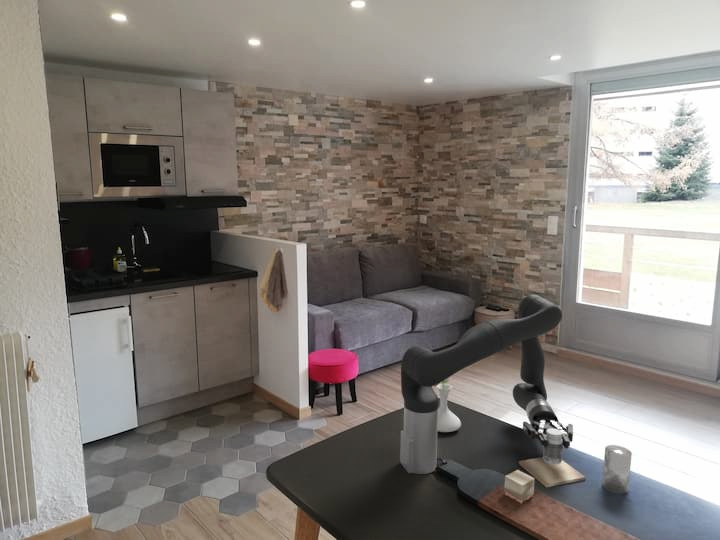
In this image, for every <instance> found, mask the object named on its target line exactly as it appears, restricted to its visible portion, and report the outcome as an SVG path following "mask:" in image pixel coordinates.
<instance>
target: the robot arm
mask: <svg viewBox="0 0 720 540" xmlns="http://www.w3.org/2000/svg"><path fill="white" fill-rule="evenodd" d="M517 312H518V315H517V317H518V318H511V319H510V318H509V319H506V318H500V319H489V320H486V321H483V322H481V323H479V324H476V325H474V326H472V327H470V328H469V329H468V330H466V331H465V332H464V333H463V335H462V336H461V337H460V339H459V341H458V342H457V343H455V344H454V345H452V346H450V347H448V348H446V349H443V350H439V351H435V352H434V351H432V350H431V349H428V348H426V347H423V346H421V345H413V346H411V347H409V348H408V349H407V350H406V351H405V353H403V356H402V359H401V362H400V364H401V365H400V387H401V388H400V390H401V395H402V398H403V430H400V446H399V448H400V449H399V450H400V451H399V453H400V454H399V463H400V464H401V466H402V467H403V469H404V470H405V471H406V472H407V474H417V475H427V474H430V473H432V472H434V471H436V469H437V461H438V460H437V459H438V458H437V455H438V453H437V452H438V432H439V431H438V409H439V397H438V395H437V393H436V392H435V390H434V388H433V387H436V386H435V385H437V384H442V381H444V380H446V379H447V378H450V377H452V376H454V375H455V374H456V373H458V372H460V371H462V370H464V369H465V368H467V367H470V366H472V365H474V364H475V363H477V362H480V361H482V360H485V359H486V358H488V357H489V358H490V357H491V356H494V355H496V354H498V353H500V352H502V351H503V350H505V349H508V348H510V347H512V346H514V345H516V344H519V343H520V345H521V363H520V372H519V375H520V379H521V380H522V382H519V383H516V384H515V385H514V386H513V388H512V397H513V401H514V402H515V403H516V404H517V406H519V407H520V408H521V409H522V410H524V411H525V412H526V416H527V419H528V421H529V422H527V421H522V431H523V432H524V433H525V434H526V435H527V437H528V438H530V440H535V439H536V440H537V441H538V442H539V443H540V445H541V446H543V448H544V447H547V443H548V441H547V438H546V431H547V429H550V428H554V429H558V430H560V431H561V432H562V439H563V448H564V449H569V447H571V442H573V436H574V428H573V427H574V426H573V424H572V423H568V424H567V425H563V423H561V422H560V421H559V418H558V417H557V415H556V413H555V411H554V410H553V408H552V407H551V405H550V404H549V403H548V401H547V399H548V394H547V390H546V386H545V382H544V381H545V380H544V375H545V374H544V373H545V363H546V360H545V354H544V351H543V348H542V344H541V342H540V338H539V336H542V335H545V334H548V333H549V332H551V331H552V330H554V329H555V328H557V326H558V325H560V322H562V319H563V312H562V310H561V308H560V307H559V306H558V305H556V304H555V303H554V302H552V301H550V300H549V299H547V298H544V297H542V296H540V295H539V294H533V293H532V294H527V295H526V296H525V297H524V298H523V299H522V300H521V301H520V303H519V307H518V311H517ZM435 468H436V469H435Z"/></svg>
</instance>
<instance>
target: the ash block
mask: <svg viewBox="0 0 720 540" xmlns="http://www.w3.org/2000/svg"><path fill="white" fill-rule="evenodd" d="M535 479H536V478H535V477H534V476H532V475H530V474H527V473H525V472H523V471H522V470H521V471H520V469H516V470H514V471H512V472H510V473H508V474H506V475H505V476H504V486H503V487H504V490H503V492H504V491H506V492H508V493H509V494H511V495H512V496H514V497H516V498H517V499H519V500H521V501H522V500H524V499H525V498H527V497H528V496H530V495H532V494H535V493H534V492H535V491H534V490H535Z"/></svg>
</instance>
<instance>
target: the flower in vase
mask: <svg viewBox="0 0 720 540" xmlns="http://www.w3.org/2000/svg"><path fill="white" fill-rule="evenodd" d="M449 378H450V377H449ZM449 378H447V379H446V380H444V381H442V382H441V383H439V384H437V385H435V386H434V387H436V389H437V390H438V393H439V406H438V431H437V432H440V433H450V432H455V431H458V430H459V429H460V427H461V426H462V422H461V420H460V419H459V417H458V416H457V415H456V414H454V413H453V412H452V411H451V410H450V408H448V398H449V393H450V391H451V390H452V389H453V386H452V385H451V384H448V383H449V381H450V379H449Z"/></svg>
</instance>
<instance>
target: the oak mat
mask: <svg viewBox="0 0 720 540" xmlns="http://www.w3.org/2000/svg"><path fill="white" fill-rule="evenodd" d="M518 464H519V465H520V466H521V468H523V469H524V470H526V471H527V473H529V475H530V476H532V477H533V478H535V479H536V480H537V481H538V482H539V483H541V484H542V485H543V486H545V487H546V488H550V487H554V486H560V485H566V484H570V483H575V482H581V481H585V480H586V476H585V475H583V474H582V473H581V472H579V471H578V470H577V469H575V468H574V467H573V466H571V465H570V464H568V463H566V461H564V460H563V459H562V462H561V463H560V464H557V465H554V464H549V463H547V462H545V461H544V459H543V456H541V457H535V458H529V459H525V460H524V459H523V460H519V461H518Z"/></svg>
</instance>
